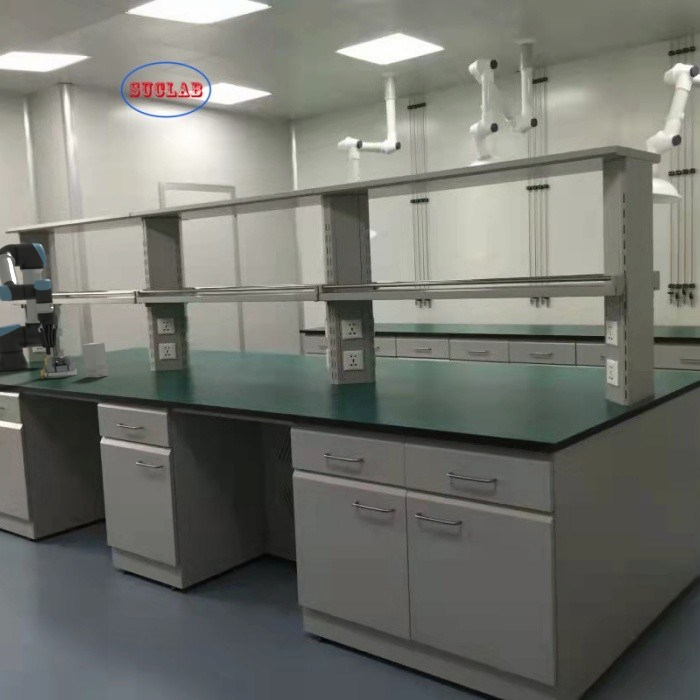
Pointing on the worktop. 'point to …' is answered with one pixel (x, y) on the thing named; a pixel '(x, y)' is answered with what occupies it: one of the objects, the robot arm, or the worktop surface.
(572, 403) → the worktop surface
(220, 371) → the worktop surface
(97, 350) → the skincare box
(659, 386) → the worktop surface
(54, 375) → the housing
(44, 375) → the post
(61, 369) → the ring nut
